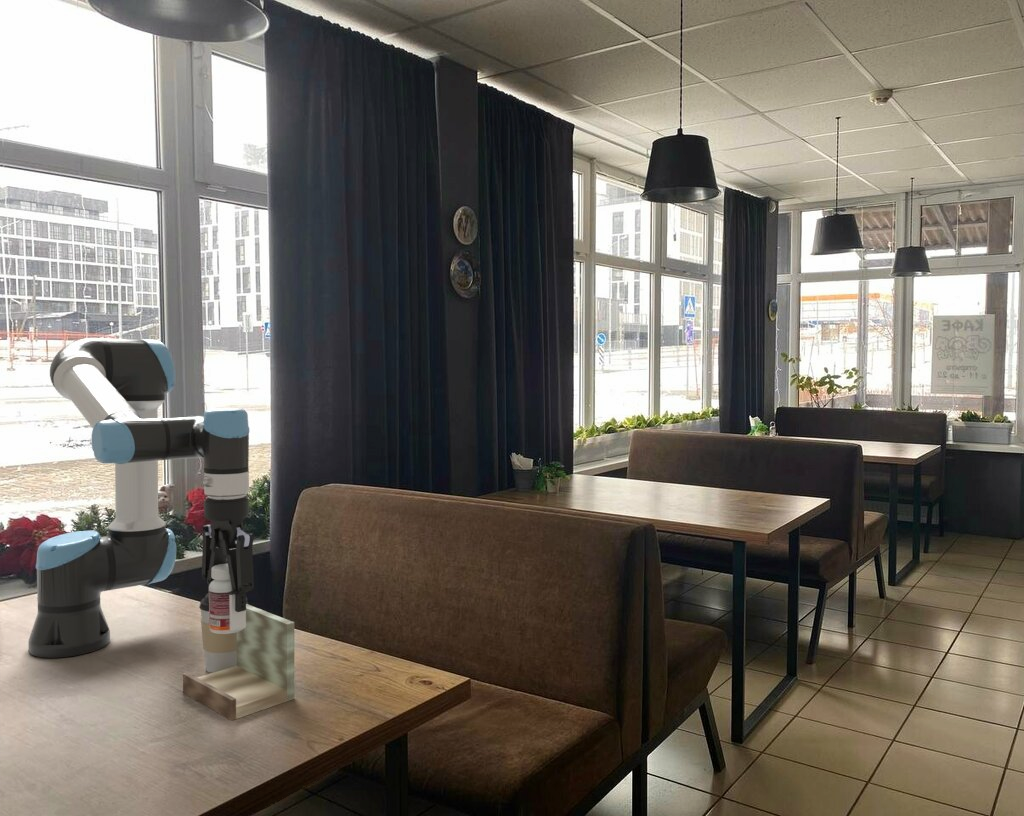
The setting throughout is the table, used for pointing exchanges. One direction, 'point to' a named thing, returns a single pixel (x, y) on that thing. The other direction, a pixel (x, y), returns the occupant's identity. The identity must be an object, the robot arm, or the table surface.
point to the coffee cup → (217, 643)
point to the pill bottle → (220, 600)
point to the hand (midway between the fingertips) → (227, 624)
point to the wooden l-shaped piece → (251, 669)
